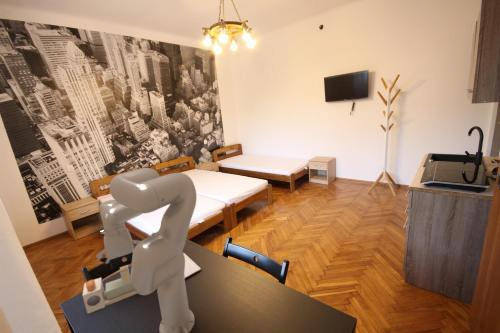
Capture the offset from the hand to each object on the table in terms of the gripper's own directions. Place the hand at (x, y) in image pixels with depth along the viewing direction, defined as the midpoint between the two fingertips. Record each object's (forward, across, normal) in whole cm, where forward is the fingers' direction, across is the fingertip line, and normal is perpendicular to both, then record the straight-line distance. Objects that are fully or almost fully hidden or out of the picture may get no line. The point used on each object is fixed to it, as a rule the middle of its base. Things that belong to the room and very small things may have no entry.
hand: (124, 265), depth 99 cm
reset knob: (+5, -13, -1) cm, 13 cm away
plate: (+15, +20, +2) cm, 25 cm away
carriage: (+12, -3, +1) cm, 13 cm away
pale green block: (+14, -1, +1) cm, 14 cm away
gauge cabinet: (+14, -13, +1) cm, 19 cm away
